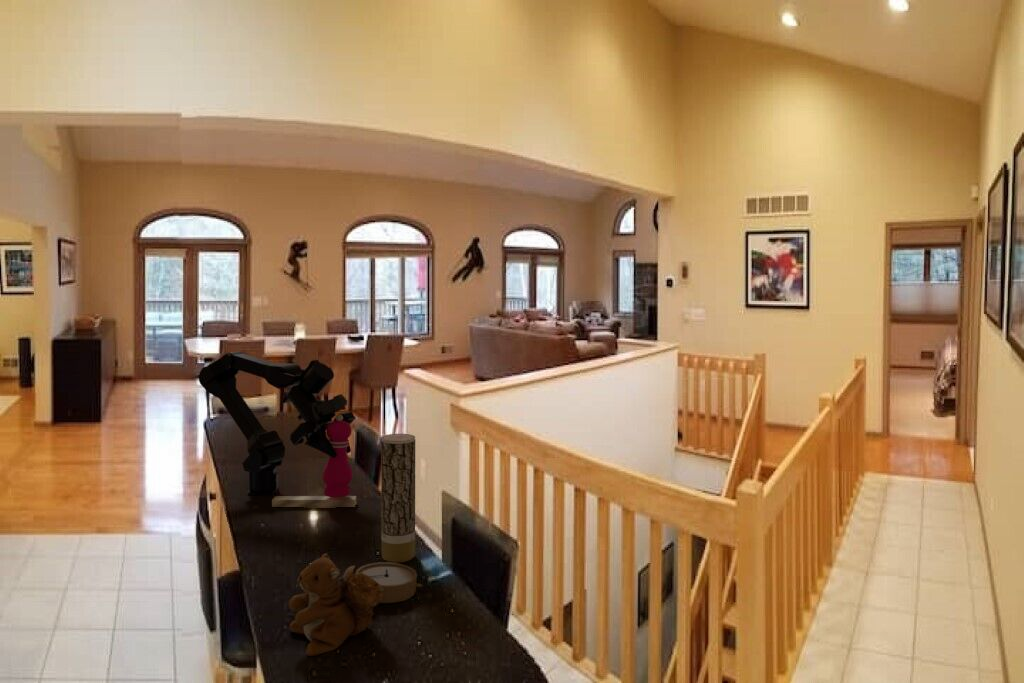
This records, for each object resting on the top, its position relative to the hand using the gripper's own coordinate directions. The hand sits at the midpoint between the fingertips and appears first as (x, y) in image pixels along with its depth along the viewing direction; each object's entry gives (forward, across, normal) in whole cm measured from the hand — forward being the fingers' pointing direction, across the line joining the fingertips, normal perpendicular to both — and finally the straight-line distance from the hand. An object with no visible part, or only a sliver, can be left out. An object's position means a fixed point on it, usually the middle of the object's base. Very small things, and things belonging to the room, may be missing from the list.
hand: (342, 454), depth 176 cm
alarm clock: (+35, -35, -16) cm, 52 cm away
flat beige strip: (+5, -3, +14) cm, 15 cm away
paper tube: (+31, -20, -12) cm, 39 cm away
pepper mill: (+6, 0, +8) cm, 10 cm away
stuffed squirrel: (+37, -51, -19) cm, 66 cm away
